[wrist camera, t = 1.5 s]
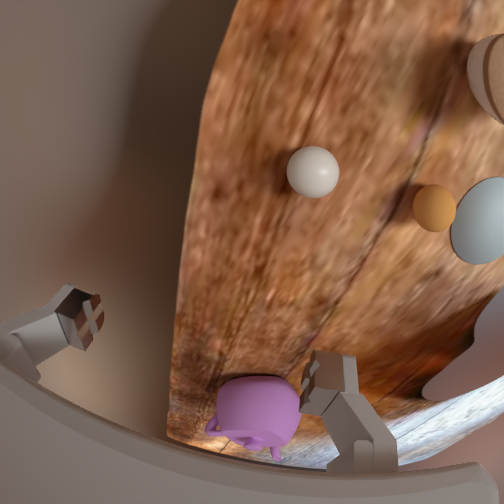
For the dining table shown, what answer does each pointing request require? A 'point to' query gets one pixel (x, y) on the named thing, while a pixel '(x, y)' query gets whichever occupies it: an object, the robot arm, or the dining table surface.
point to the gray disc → (480, 223)
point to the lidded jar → (488, 75)
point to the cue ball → (312, 172)
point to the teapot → (256, 413)
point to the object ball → (434, 208)
